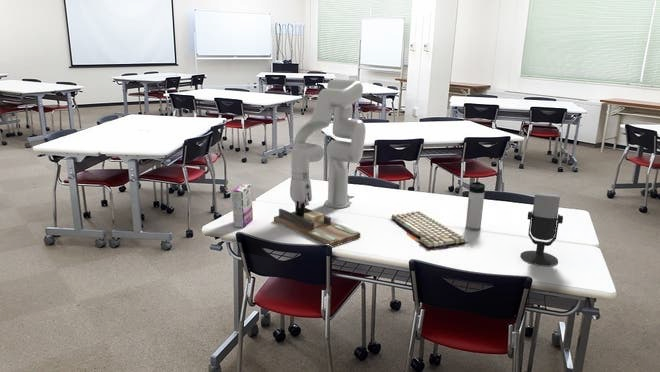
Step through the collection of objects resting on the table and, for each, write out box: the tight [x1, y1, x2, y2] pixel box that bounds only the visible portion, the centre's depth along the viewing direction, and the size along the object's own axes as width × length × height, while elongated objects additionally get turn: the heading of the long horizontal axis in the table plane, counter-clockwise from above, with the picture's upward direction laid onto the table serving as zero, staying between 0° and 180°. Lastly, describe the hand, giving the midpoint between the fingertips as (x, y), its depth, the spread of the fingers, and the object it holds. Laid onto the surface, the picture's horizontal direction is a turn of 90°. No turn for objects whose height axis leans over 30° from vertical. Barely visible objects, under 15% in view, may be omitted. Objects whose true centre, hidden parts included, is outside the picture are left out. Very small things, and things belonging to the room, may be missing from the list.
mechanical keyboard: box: [390, 210, 468, 251], centre depth 209 cm, size 38×19×3 cm, turn 21°
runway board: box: [273, 206, 361, 247], centre depth 208 cm, size 16×38×5 cm, turn 41°
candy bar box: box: [231, 183, 254, 229], centre depth 212 cm, size 11×5×16 cm, turn 168°
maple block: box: [304, 210, 325, 227], centre depth 209 cm, size 6×6×4 cm
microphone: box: [519, 192, 564, 267], centre depth 180 cm, size 13×13×25 cm
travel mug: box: [465, 181, 486, 232], centre depth 211 cm, size 6×7×20 cm
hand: (300, 215), depth 216 cm, fingers closed
